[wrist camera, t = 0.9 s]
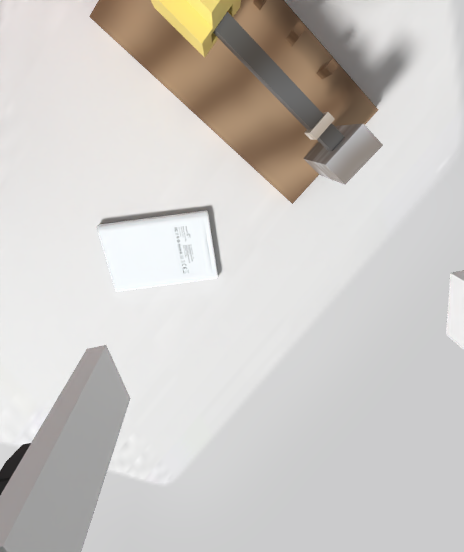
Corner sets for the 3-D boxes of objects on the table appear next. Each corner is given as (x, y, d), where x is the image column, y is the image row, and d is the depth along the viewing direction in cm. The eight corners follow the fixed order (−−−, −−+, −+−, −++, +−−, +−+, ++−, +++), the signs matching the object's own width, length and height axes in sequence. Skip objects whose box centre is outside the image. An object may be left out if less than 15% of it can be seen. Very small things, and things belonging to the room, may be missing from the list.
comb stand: (94, 21, 29) (44, -24, 21) (174, -118, 26) (152, -236, 18) (290, 201, 36) (310, 220, 28) (373, 110, 33) (423, 102, 25)
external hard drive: (100, 223, 37) (208, 208, 37) (119, 287, 41) (218, 274, 40) (95, 226, 36) (207, 211, 36) (115, 293, 39) (218, 279, 39)
